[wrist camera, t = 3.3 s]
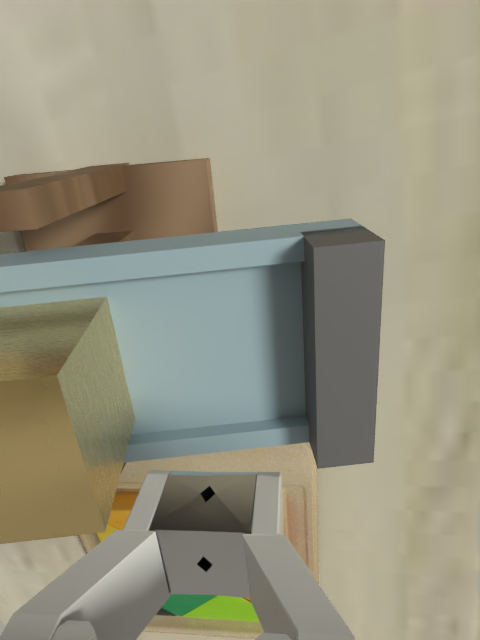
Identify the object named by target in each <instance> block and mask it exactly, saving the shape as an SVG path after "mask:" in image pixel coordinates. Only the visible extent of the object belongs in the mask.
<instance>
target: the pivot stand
mask: <svg viewBox="0 0 480 640" xmlns="http://www.w3.org/2000/svg"><path fill="white" fill-rule="evenodd" d="M4 179H5V182H6V185H4V186H0V232H5V231H20V232H21V235H22V239H23V242H24V245H25V249H26V251H35V250H45V249H55V248H65V247H75V246H85V245H94V244H104V243H114V242H124V241H134V240H144V239H154V238H164V237H174V236H184V235H193V234H203V233H213V232H218V231H217V222H216V213H215V204H214V195H213V185H212V176H211V167H210V158H205V159H193V160H182V161H171V162H159V163H148V164H136V165H129V163H123V164H111V165H100V166H89V167H85V168H80V169H76V170H68V171H56V172H45V173H34V174H22V175H14V176H8V177H4ZM125 464H126V462H125V463H123V467H122V471H123V469H124V467H125ZM122 471H121V473H122Z"/></svg>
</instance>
